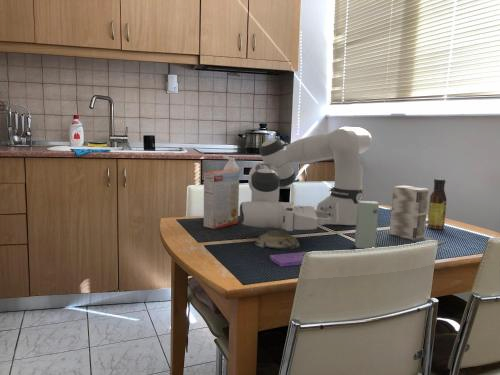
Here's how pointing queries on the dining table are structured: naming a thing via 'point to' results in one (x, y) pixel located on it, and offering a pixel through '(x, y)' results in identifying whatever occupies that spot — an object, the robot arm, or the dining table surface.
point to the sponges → (288, 259)
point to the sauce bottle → (437, 206)
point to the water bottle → (230, 164)
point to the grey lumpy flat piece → (277, 240)
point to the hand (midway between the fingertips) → (329, 217)
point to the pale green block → (366, 224)
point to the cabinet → (409, 213)
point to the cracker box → (221, 198)
